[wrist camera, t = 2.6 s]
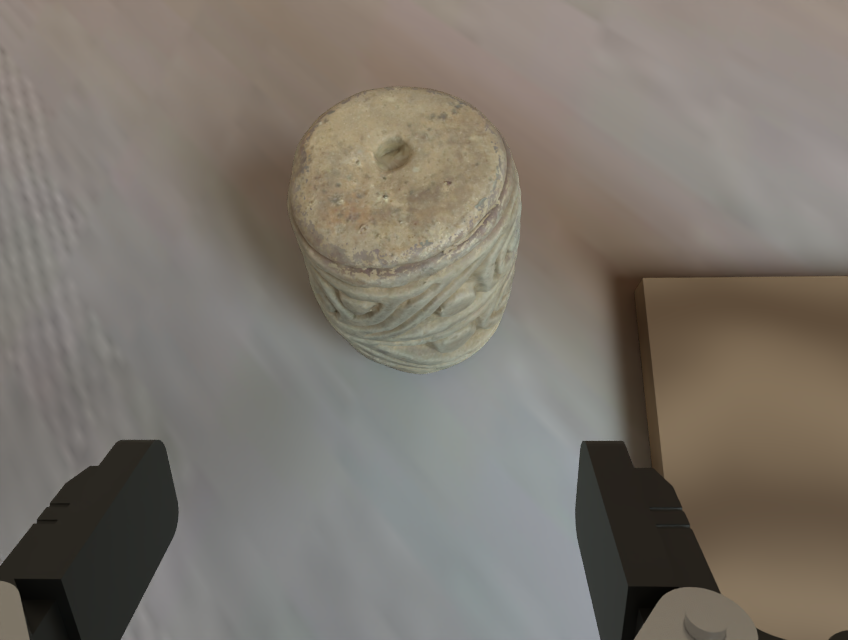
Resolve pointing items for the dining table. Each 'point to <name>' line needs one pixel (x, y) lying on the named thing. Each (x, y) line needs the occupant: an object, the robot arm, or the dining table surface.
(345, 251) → the carving
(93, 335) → the dining table surface
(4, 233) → the dining table surface
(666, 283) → the walnut board
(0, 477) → the dining table surface
